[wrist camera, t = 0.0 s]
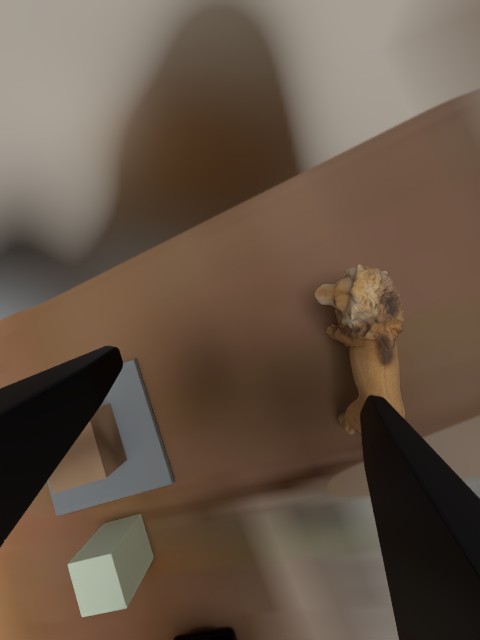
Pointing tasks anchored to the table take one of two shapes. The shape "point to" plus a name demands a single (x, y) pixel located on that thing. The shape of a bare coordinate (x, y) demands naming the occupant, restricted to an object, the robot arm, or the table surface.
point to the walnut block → (91, 453)
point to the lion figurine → (367, 335)
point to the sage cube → (111, 566)
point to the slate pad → (139, 444)
